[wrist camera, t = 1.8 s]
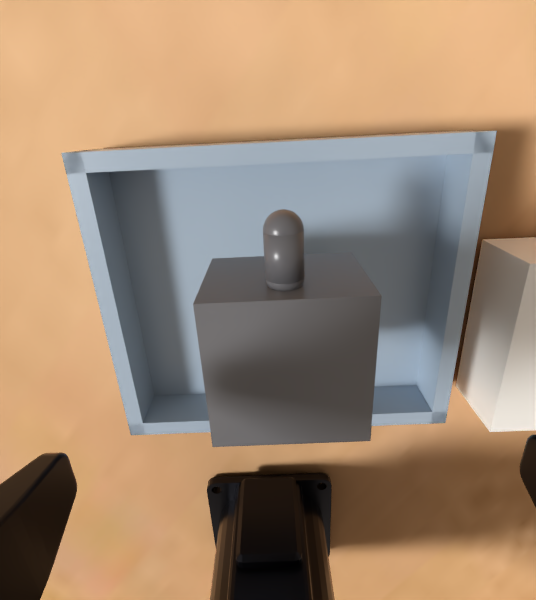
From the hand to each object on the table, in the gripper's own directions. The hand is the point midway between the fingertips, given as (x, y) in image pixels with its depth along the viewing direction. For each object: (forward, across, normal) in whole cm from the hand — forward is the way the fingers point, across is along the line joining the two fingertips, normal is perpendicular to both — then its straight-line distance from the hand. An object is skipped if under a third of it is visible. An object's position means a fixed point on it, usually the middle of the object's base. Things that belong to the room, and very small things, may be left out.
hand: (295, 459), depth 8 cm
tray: (+9, 0, 0) cm, 9 cm away
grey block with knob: (+9, 0, 0) cm, 9 cm away
